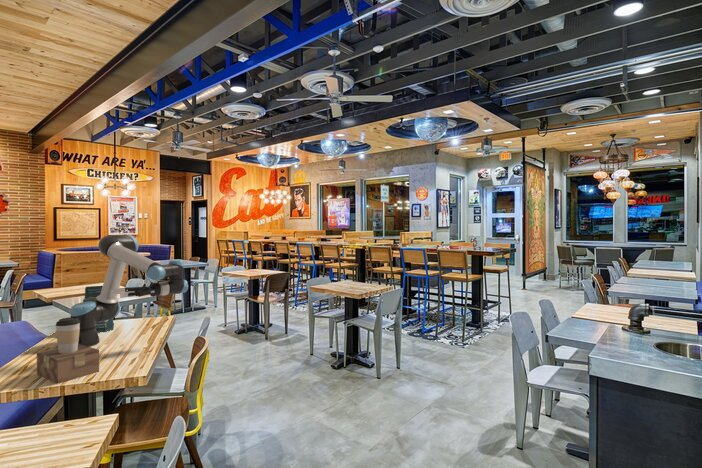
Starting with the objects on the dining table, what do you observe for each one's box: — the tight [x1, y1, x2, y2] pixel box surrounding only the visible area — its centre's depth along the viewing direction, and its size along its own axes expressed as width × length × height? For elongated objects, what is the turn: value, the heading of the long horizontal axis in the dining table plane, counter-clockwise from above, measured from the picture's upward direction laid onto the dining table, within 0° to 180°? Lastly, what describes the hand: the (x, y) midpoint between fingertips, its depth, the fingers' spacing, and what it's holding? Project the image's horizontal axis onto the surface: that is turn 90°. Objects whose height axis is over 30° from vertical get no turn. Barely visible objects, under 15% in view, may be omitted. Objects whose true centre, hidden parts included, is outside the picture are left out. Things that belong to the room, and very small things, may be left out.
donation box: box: [82, 285, 115, 334], centre depth 246 cm, size 16×16×28 cm
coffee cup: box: [55, 316, 80, 353], centre depth 171 cm, size 9×9×15 cm
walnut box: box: [36, 344, 100, 384], centre depth 171 cm, size 20×16×10 cm
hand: (115, 293), depth 193 cm, fingers open, 13 cm apart
